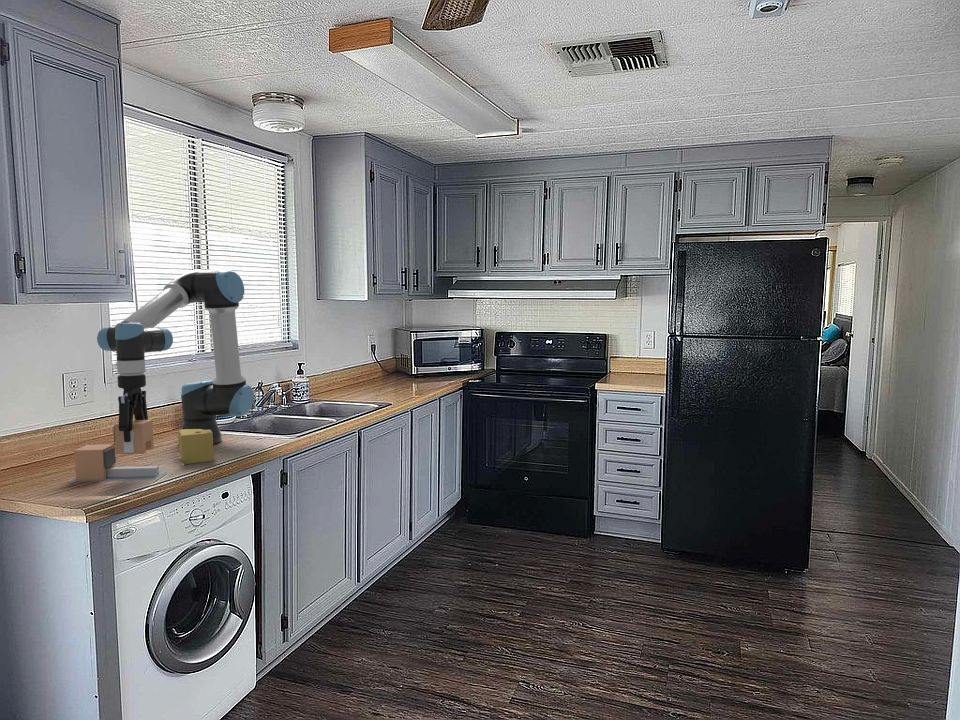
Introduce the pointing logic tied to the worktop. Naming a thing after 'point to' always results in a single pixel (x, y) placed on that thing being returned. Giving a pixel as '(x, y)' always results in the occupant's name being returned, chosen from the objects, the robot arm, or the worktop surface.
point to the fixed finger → (94, 461)
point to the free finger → (136, 437)
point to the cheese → (196, 445)
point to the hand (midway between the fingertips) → (135, 449)
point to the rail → (130, 473)
